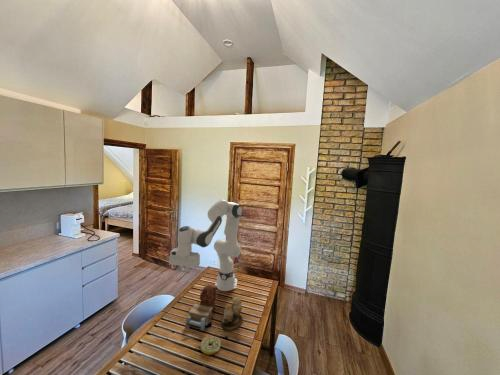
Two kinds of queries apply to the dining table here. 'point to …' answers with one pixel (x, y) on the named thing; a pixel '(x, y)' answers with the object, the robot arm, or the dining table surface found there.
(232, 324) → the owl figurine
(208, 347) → the decorated donut
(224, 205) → the robot arm
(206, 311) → the tan boxy piece
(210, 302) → the wooden figurine
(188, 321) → the lever handle with knob
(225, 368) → the dining table surface
